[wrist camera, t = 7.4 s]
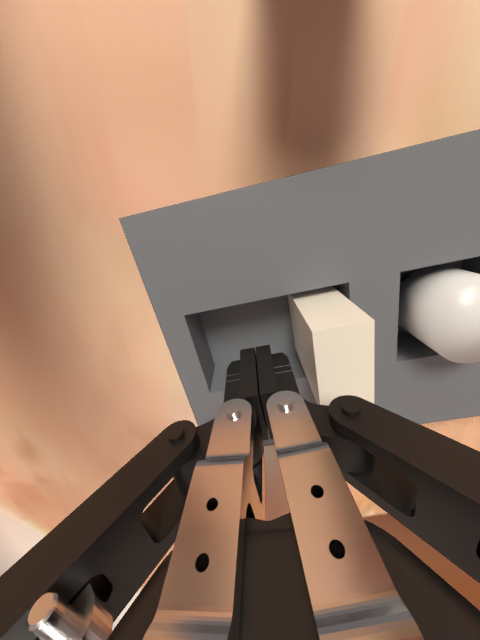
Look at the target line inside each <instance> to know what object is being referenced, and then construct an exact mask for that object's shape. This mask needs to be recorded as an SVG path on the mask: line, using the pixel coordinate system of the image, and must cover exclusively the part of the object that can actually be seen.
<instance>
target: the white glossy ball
mask: <svg viewBox="0 0 480 640" xmlns="http://www.w3.org/2000/svg"><path fill="white" fill-rule="evenodd" d="M398 325H399V326H400V327H402V328H403V329H404V330H406V331H407V332H409V333H410V334H412V335H413V336H414V337H416V338H417V339H419V340H420V341H421V342H423V343H424V344H426V345H427V346H428V347H430V348H431V349H433V350H434V351H435V352H437V353H438V354H440V355H441V356H442V357H444V358H446V359H447V360H449V361H452V362H456V363H476V362H480V274H478V273H474V272H470V271H466V270H462V269H458V268H454V267H450V266H446V265H433V266H428V267H424V268H421V269H419V270H417V271H415V272H414V273H412V274H411V275H409V276H408V277H407V278H406V279H405V280H404V281H403V282H402V283H401V284H400V291H399V313H398Z"/></svg>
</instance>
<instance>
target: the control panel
mask: <svg viewBox="0 0 480 640" xmlns="http://www.w3.org/2000/svg"><path fill="white" fill-rule="evenodd" d="M119 220H120V223H121V225H122V228H123V230H124V233H125V236H126V238H127V241H128V244H129V246H130V249H131V251H132V254H133V257H134V259H135V262H136V264H137V267H138V270H139V272H140V275H141V278H142V280H143V283H144V285H145V288H146V291H147V293H148V296H149V298H150V301H151V304H152V306H153V309H154V312H155V314H156V317H157V319H158V322H159V325H160V327H161V330H162V332H163V335H164V338H165V340H166V343H167V346H168V348H169V351H170V353H171V356H172V359H173V361H174V364H175V366H176V369H177V372H178V374H179V377H180V380H181V382H182V385H183V387H184V390H185V393H186V395H187V398H188V400H189V403H190V406H191V408H192V411H193V414H194V416H195V419H196V421H197V424H198V426H200V425H202V424H205V423H207V422H209V421H211V420H212V419H214V418H215V415H216V411H217V410H218V408H219V407H220V406H221V405H222V404H223V402H224V393H225V383H226V373H227V367H228V366H229V365H230V363H231V362H232V361H237V360H240V350H242V349H248V348H253V347H254V348H255V351H256V347H258V346H264V345H269V344H270V349H271V354H275V353H281V352H282V353H284V354H285V355H286V356H287V357H288V358H289V362H290V365H291V368H292V371H293V374H294V377H295V380H296V384H297V387H298V390H299V393H300V395H301V396H302V397H303V398H304V399H305V400H307V401H308V402H311V403H314V404H317V403H316V400H315V398H314V395H313V392H312V390H311V387H310V385H309V382H308V380H307V377H306V374H305V372H304V369H303V367H302V364H301V362H300V359H299V356H298V354H297V351H296V349H295V343H294V336H293V330H292V323H291V316H290V309H289V302H288V294H293V293H298V292H303V291H308V290H313V289H318V288H323V287H328V286H333V287H334V288H335V289H336V290H338V291H339V292H340V293H341V294H343V295H344V296H345V297H346V298H348V299H349V300H350V301H351V302H353V303H354V304H355V305H356V306H358V307H359V308H360V309H361V310H363V311H364V312H365V313H366V314H367V315H369V316H370V317H371V318H372V319H374V320H375V336H374V404H376V405H378V406H380V407H382V408H384V409H387V410H389V411H391V412H393V413H395V414H398V415H400V416H402V417H404V418H406V419H409V420H411V421H413V422H415V423H417V424H424V423H431V422H438V421H445V420H452V419H459V418H466V417H473V416H480V362H476V363H456V362H452V361H449V360H447V359H446V358H444V357H442V356H441V355H440V354H438V353H437V352H435V351H434V350H433V349H431V348H430V347H428V346H427V345H426V344H424V343H423V342H421V341H420V340H419V339H417V338H416V337H414V336H413V335H412V334H410V333H409V332H407V331H406V330H404V329H403V328H402V327H400V326H399V325H398V313H399V291H400V284H401V283H402V282H403V281H404V280H405V279H406V278H407V277H408V276H409V275H411V274H412V273H414V272H415V271H417V270H419V269H421V268H424V267H428V266H433V265H446V266H450V267H454V268H458V269H462V270H466V271H470V272H474V273H478V274H480V129H479V130H475V131H471V132H466V133H462V134H458V135H454V136H450V137H446V138H442V139H438V140H434V141H430V142H426V143H422V144H418V145H414V146H410V147H406V148H402V149H398V150H394V151H390V152H386V153H382V154H378V155H374V156H369V157H365V158H361V159H357V160H353V161H349V162H345V163H341V164H337V165H333V166H329V167H325V168H321V169H317V170H313V171H309V172H305V173H301V174H297V175H293V176H289V177H285V178H281V179H277V180H272V181H268V182H264V183H260V184H256V185H252V186H248V187H244V188H240V189H236V190H232V191H228V192H224V193H220V194H216V195H212V196H208V197H204V198H200V199H196V200H192V201H188V202H184V203H180V204H175V205H171V206H167V207H163V208H159V209H155V210H151V211H147V212H143V213H139V214H135V215H131V216H127V217H123V218H119ZM267 429H268V427H267ZM268 437H269V440H263V446H268V445H275V442H274V439H270V436H269V431H268Z"/></svg>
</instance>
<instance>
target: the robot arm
mask: <svg viewBox="0 0 480 640" xmlns="http://www.w3.org/2000/svg"><path fill="white" fill-rule="evenodd" d="M267 427H268V429H267ZM268 431H269V436H270V439H274V442H275V447H276V451H277V456H278V460H279V465H280V469H281V473H282V478H283V482H284V487H285V491H286V495H287V500H288V504H289V509H290V513H288V514H286V515H283V516H281V517H279V518H277V519H274V520H272V521H266V515H265V459H264V454H263V453H264V446H263V440H269V437H268ZM172 477H173V478H174V480H173V481H172V482H171V483H170V484H169V485H168V486H167V487H166V488H165V489H164V491H163V492H162V493H161V494H160V495H159V496H158V497H157V498H156V499H155V500H154V502H153V503H152V504H151V505H150V506H149V507H148V508H147V509H146V510H145V511H144V512H143V510H144V508H145V507H146V506H147V504H148V503H149V502H150V501H151V500H152V499H153V498H154V497H155V496H156V495H157V494H158V492H159V491H160V490H161V489H162V488H163V487H164V486H165V485H166V484H167V483H168V482H169V481H170V479H171V478H172ZM346 481H347V482H348V483H349V484H351V485H352V486H353V487H354V488H356V489H357V490H358V491H360V492H361V493H362V494H364V495H365V496H366V497H368V498H369V499H370V500H371V501H373V502H374V503H375V504H377V505H378V506H379V507H381V508H382V509H383V510H384V511H386V512H387V513H388V514H390V515H391V516H393V517H394V518H395V519H396V520H398V521H399V522H400V523H401V524H403V525H404V526H405V527H407V528H408V529H409V530H411V531H412V532H413V533H415V534H416V535H417V536H418V537H420V538H421V539H422V540H424V541H425V542H426V543H428V544H429V545H430V546H432V547H433V548H434V549H436V550H437V551H438V552H439V553H441V554H442V555H443V556H445V557H446V558H447V559H449V560H450V561H451V562H452V563H454V564H455V565H457V566H458V567H459V568H460V569H462V570H463V571H464V572H466V573H467V574H468V575H470V576H471V577H472V578H473V579H475V580H476V581H477V582H479V583H480V452H479V451H477V450H474V449H472V448H470V447H468V446H466V445H463V444H461V443H459V442H457V441H455V440H453V439H450V438H448V437H446V436H444V435H442V434H439V433H437V432H435V431H433V430H431V429H428V428H426V427H424V426H422V425H420V424H417V423H415V422H413V421H411V420H409V419H406V418H404V417H402V416H400V415H398V414H395V413H393V412H391V411H389V410H387V409H384V408H382V407H380V406H378V405H376V404H373V403H371V402H369V401H367V400H365V399H362V398H360V397H357V396H352V395H343V396H339V397H336V398H335V399H333V400H332V401H331V402H330V404H329V406H328V405H319V404H314V403H311V402H308V401H307V400H305V399H304V398H303V397H302V396H301V395H300V393H299V390H298V387H297V384H296V380H295V377H294V374H293V371H292V368H291V365H290V362H289V358H288V357H287V356H286V355H285V354H284V353H282V352H281V353H275V354H271V349H270V344H269V345H264V346H258V347H256V351H255V348H254V347H253V348H248V349H242V350H240V360H237V361H232V362H231V363H230V365H229V366H228V367H227V373H226V383H225V393H224V402H223V404H222V405H221V406H220V407H219V408H218V410H217V411H216V415H215V418H214V419H212V420H211V421H209V422H207V423H205V424H202V425H200V426H198V427H195V425H194V424H193V423H192V422H190V421H187V420H183V421H178V422H175V423H173V424H171V425H170V426H168V427H167V428H166V429H165V430H163V431H162V432H161V433H160V434H159V435H158V436H157V437H156V438H154V439H153V440H152V441H151V442H150V443H149V444H148V445H147V446H146V447H144V448H143V449H142V450H141V451H140V452H139V453H138V454H137V455H135V456H134V457H133V458H132V459H131V460H130V461H129V462H128V463H127V464H125V465H124V466H123V467H122V468H121V469H120V470H119V471H118V472H117V473H115V474H114V475H113V476H112V477H111V478H110V479H109V480H108V481H106V482H105V483H104V484H103V485H102V486H101V487H100V488H99V489H98V490H96V491H95V492H94V493H93V494H92V495H91V496H90V497H89V498H87V499H86V500H85V501H84V502H83V503H82V504H81V505H80V506H79V507H77V508H76V509H75V510H74V511H73V512H72V513H71V514H70V515H69V516H67V517H66V518H65V519H64V520H63V521H62V522H61V523H60V524H58V525H57V526H56V527H55V528H54V529H53V530H52V531H51V532H50V533H48V534H47V535H46V536H45V537H44V538H43V539H42V540H41V541H39V542H38V543H37V544H36V545H35V546H34V547H33V548H32V549H31V550H29V551H28V552H27V553H26V554H25V555H24V556H23V557H22V558H21V559H19V560H18V561H17V562H16V563H15V564H14V565H13V566H12V567H11V568H9V570H7V571H6V572H5V573H4V574H3V575H2V576H1V577H0V640H480V611H479V610H478V609H477V608H476V607H474V605H472V604H471V603H470V602H469V601H468V600H467V599H466V598H464V597H463V596H462V595H461V594H460V593H458V592H457V591H456V590H455V589H454V588H453V587H452V586H450V585H449V584H448V583H447V582H446V581H445V580H444V579H442V578H441V577H440V576H439V575H438V574H437V573H435V572H434V571H433V570H432V569H431V568H430V567H428V566H427V565H426V564H425V563H424V562H423V561H421V560H420V559H419V558H418V557H417V556H416V555H415V554H413V553H412V552H411V551H410V550H409V549H408V548H406V547H405V546H404V545H403V544H402V543H401V542H399V541H398V540H397V539H396V538H395V537H393V536H392V535H390V534H389V533H388V532H386V531H385V530H383V529H382V528H380V527H378V526H376V525H375V524H373V523H370V522H368V521H366V520H364V519H363V518H362V516H361V513H360V511H359V509H358V507H357V505H356V503H355V500H354V498H353V496H352V494H351V492H350V490H349V488H348V485H347V483H346ZM142 512H143V513H142ZM174 542H175V544H174V548H173V550H172V551H171V552H170V554H169V555H168V556H167V557H166V558H165V559H164V560H163V562H162V563H161V564H160V566H159V567H158V568H157V570H156V571H155V573H154V574H153V575H152V577H151V578H150V580H149V581H148V582H147V584H146V585H145V587H144V588H143V589H142V591H141V592H140V594H139V595H138V596H137V598H136V599H135V601H134V602H133V603H132V605H131V606H130V608H129V609H128V610H127V612H126V613H125V615H124V616H123V617H122V619H121V620H120V622H119V623H118V624H117V626H116V627H115V629H114V630H113V631H112V625H113V622H114V621H115V620H116V618H117V617H118V616H119V614H120V613H121V612H122V610H123V609H124V608H125V607H126V605H127V604H128V603H129V601H130V600H131V599H132V597H133V596H134V595H135V593H136V592H137V591H138V589H139V588H140V587H141V585H142V584H143V583H144V582H145V580H146V579H147V578H148V576H149V575H150V574H151V572H152V571H153V570H154V568H155V567H156V566H157V564H158V563H159V562H160V560H161V559H162V558H163V557H164V555H165V554H166V553H167V551H168V550H169V549H170V547H171V546H172V545H173V543H174ZM111 632H112V633H111Z"/></svg>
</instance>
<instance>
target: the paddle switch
mask: <svg viewBox="0 0 480 640" xmlns="http://www.w3.org/2000/svg"><path fill="white" fill-rule="evenodd" d="M288 302H289V309H290V316H291V323H292V330H293V336H294V343H295V349H296V351H297V354H298V356H299V359H300V362H301V364H302V367H303V369H304V372H305V374H306V377H307V380H308V382H309V385H310V387H311V390H312V392H313V395H314V398H315V400H316V403H317V404H319V405H328V406H329V404H330V402H331V401H332V400H333V399H335V398H336V397H339V396H343V395H352V396H357V397H360V398H362V399H365V400H367V401H369V402H371V403H373V404H374V336H375V320H374V319H372V318H371V317H370V316H369V315H367V314H366V313H365V312H364V311H363V310H361V309H360V308H359V307H358V306H356V305H355V304H354V303H353V302H351V301H350V300H349V299H348V298H346V297H345V296H344V295H343V294H341V293H340V292H339V291H338V290H336V289H335V288H334V287H333V286H328V287H323V288H318V289H313V290H308V291H303V292H298V293H293V294H288Z"/></svg>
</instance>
